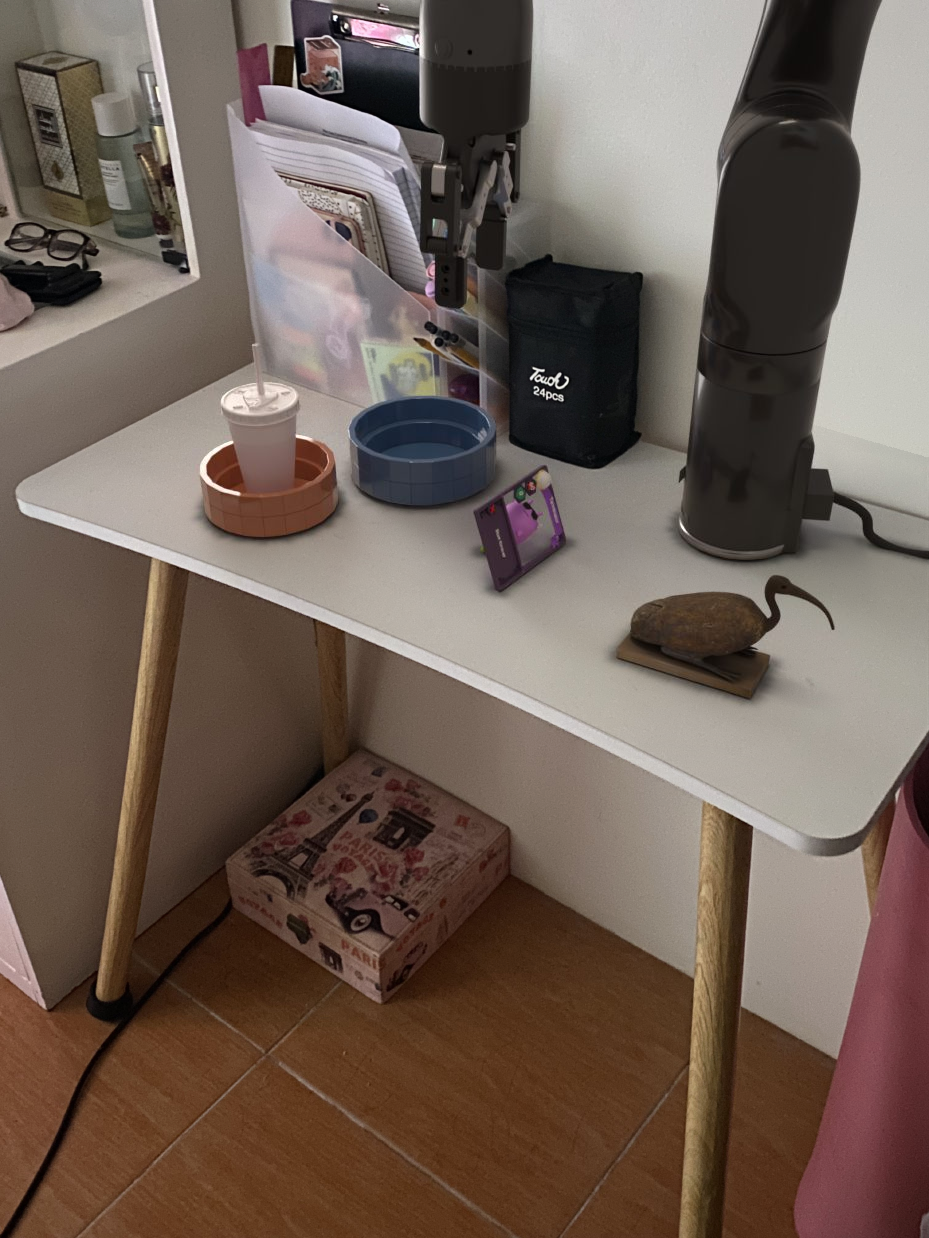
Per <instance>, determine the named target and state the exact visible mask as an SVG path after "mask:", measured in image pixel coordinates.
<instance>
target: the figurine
mask: <svg viewBox="0 0 929 1238" xmlns="http://www.w3.org/2000/svg"><path fill="white" fill-rule="evenodd" d="M763 593H764V600H765V602H766V604H767V606H768V609H769V611H770V616H769V617H768V616H767V615H766V613H764V612H763V610H762V609H761V608H760V606H759V605H757V603H756V602H755V601H754V600H753V599H752V598H750V597H748V596H745V595H742V594H740V593H735V592H727V591H701V592H691V593H682V594H675V595H669V596H666V597H664V598H658V599H653V600H651V601H648V602H645V603H643V604H641V605H640V606H639V607H638V608H636V609H635V610H634V612H633V614H632V616H631V619H630V630H629V632H628V634H627V635H626V637H625V638H624V639H623V640H622V641H621V642H620V644H618V646H617V647H616V655H615V656H616V657H615V658H619V659H621V660H624V661H628V662H631V663H634V664H637V665H641V666H644V667H647V668H651V669H654V670H657V671H660V672H664V673H667V674H669V675H672V676H676V677H680V678H683V679H685V680H690V681H692V682H695V683H699V684H703V685H706V686H709V687H712V688H716V689H719V690H722V691H725V692H728V693H732V694H735V695H737V696H741V697H743V698H747V699H751V697H752V695H753V694H754V691H755V690H756V688H757V686H758V684H759V682H760V681H761V679H762V677H763V675H764V674H765V671H766V669H767V668H768V666H769V664H770V659H771V655H770V654H769V653H765V652H761V651H759V648H757V647H755V646H753V645H755V644H757V643H758V642H759V641H761V640H762V639H763V638H764V637H765V636H766V634H767V633H769V632H772V630H773V629H775V627H776V626H777V625H778V624H779V623H780V620H781V617H782V616H781V615H782V614H781V610H780V607H779V605H778V602H777V601H776V594H777V595H783V596H790V597H791V596H792V597H795V598H798V599H801V600H804V601H806V602H808V603H810V604H812V605H814V606H815V607H817V608H818V609H819V610H820V611H822V613H823V614H824V615H825V617H826V618H827V620H828V623H829V626H830V629H831V631H835V630H836V627H835V623H834V620H833V617H832V614H831V613H830V611H829V609H827V607H826V606H825V605H824V603H822V601H820V600H819V599H818V598H817V597H815V596H814V595H813V594H811V593H809V592H807V591H806V589H803V588H801V587H799V586H798V585H796V584H794V583H793V582H792V581H791V580H790V579H789V578H788V577H786V576H783V575H779V574H774V575H772V576H770V577H769V578H768V579H767V580H766V583H765V585H764V592H763Z"/></svg>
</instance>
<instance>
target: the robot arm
mask: <svg viewBox="0 0 929 1238" xmlns="http://www.w3.org/2000/svg"><path fill="white" fill-rule="evenodd" d="M882 2H883V0H764V3H763V7H762V8H763V9H762V13H761V17H760V20H759V23H758V28H757V30H756V31H757V32H756V35H755V37H754V41H753V44H752V47H751V51H750V54H749V57H748V61H747V63H746V67H745V70H744V74H743V77H742V79H741V82H740V85H739V88H738V90H737V93H736V98H735V99H734V102H733V106H732V109H731V112H730V114H729V117H728V120H727V123H726V125H725V128H724V130H723V133H722V137H721V140H720V142H719V145H718V149H717V157H716V179H717V182H716V183H717V187H716V190H717V191H716V197H715V198H716V199H715V207H714V208H715V209H714V218H713V228H712V238H711V245H710V246H711V247H710V256H709V266H708V274H707V281H706V286H705V291H704V295H703V300H702V314H701V322H700V330H699V338H698V339H699V340H698V349H697V357H696V368H695V376H694V377H695V378H694V386H693V395H692V405H691V413H690V422H689V433H688V442H687V449H686V450H687V451H686V461H685V465H684V466H683V468H681V469H680V470H679V473H678V483H677V484H678V485H679V484H680V483H681V482H682V481H683V489H682V491H683V492H682V498H681V503H680V512H679V515H678V526H677V527H678V530H679V533H680V535H681V536H682V537H683V539H684V540H685V541H686V542H687V543H688V544H690V545H691V546H693V547H694V548H696V549H698V550H700V551H702V552H704V553H706V554H708V555H712V556H716V557H720V558H724V559H730V560H740V561H741V560H743V561H753V560H761V559H768V558H771V557H774V556H777V555H779V554H782V553H794V554H795V553H797V552H798V548H799V542H800V536H801V530H802V524H803V520H805V521H806V520H807V521H808V520H809V521H827V522H830V521H831V516H832V511H833V504H835V505H838V506H840V507H843V508H845V509H847V510H849V511H851V512H853V513H855V514H856V515H857V516H858V518H860V519H861V524H862V533H863V536H864V538H865V539H866V540H867V541H868V542H870V543H871V544H872V545H874V547H875V546H876V547H877V548H879V549H883V550H886V551H890V552H895V553H899V554H903V555H908V556H911V557H916V558H920V559H924V560H929V550H923V549H922V550H921V549H914V548H909V547H904V546H901V545H897V544H895V543H893V542H891V541H888V540H886V539H885V538H883V537H882V536H880V535H879V534H878V533H876V532H875V530H874V519H873V517H872V514H871V512H870V511H869V510H868V509H867V508H866V507H865V506H864V505H862V504H861V503H859V502H858V501H857V500H854V499H852V498H850V497H848V496H845V495H843V494H841V493H838V492H836V491H834V488H833V485H832V480H831V476H830V471H829V469H828V468H813V461H814V455H815V449H816V445H815V439H814V435H813V427H814V421H815V415H816V410H817V403H818V398H819V392H820V387H821V386H820V385H821V381H822V380H821V379H822V373H823V368H824V362H825V357H826V351H827V345H828V338H829V335H830V329H831V324H832V319H833V316H834V313H835V311H836V309H837V307H838V304H839V301H840V299H841V294H842V290H843V286H844V279H845V275H846V269H847V264H848V259H849V254H850V249H851V245H852V238H853V235H854V234H853V233H854V229H855V223H856V217H857V212H858V206H859V200H860V193H861V179H862V173H861V172H862V171H861V170H862V169H861V162H860V156H859V153H858V149H857V148H856V145H855V143H854V141H853V138H852V127H853V126H852V125H853V120H854V113H855V105H856V101H857V95H858V90H859V86H860V81H861V75H862V72H863V67H864V61H865V58H866V54H867V53H866V52H867V49H868V44H869V41H870V38H871V33H872V30H873V26H874V23H875V21H876V18H877V15H878V12H879V9H880V7H881V5H882ZM418 18H419V19H418V20H419V21H418V23H419V26H418V29H419V30H418V33H419V35H418V36H419V37H418V39H419V40H418V41H419V43H418V44H419V47H418V48H419V49H418V50H419V53H418V55H419V56H418V57H419V119H420V121H421V123H423V125H424V126H425V127H426V128H428V129H431V130H433V131H434V130H435V131H436V132H437V133H439V135H440V136H441V137H442V144H441V152H440V155H439V157H438V160H437V162H434V161H429V160H428V161H427V160H424V161H423V162H422V165H421V169H420V208H419V213H420V215H419V216H420V217H419V223H420V224H419V251H420V252H421V253H422V254H429V255H434V302H435V304H436V305H437V306H439V307H443V308H449V309H454V310H461V309H462V308H463V307H464V306H465V305H466V304H467V302H468V263H469V262H468V257H469V256H468V253H469V249H470V244H471V239H472V235H473V231H474V230H475V265H476V266H477V267H478V268H479V269H484V270H491V271H496V272H497V271H501V270H502V269H503V268H504V267H505V265H506V263H507V261H506V260H507V259H506V258H507V256H506V255H507V235H508V234H507V233H508V232H507V231H508V220H506V219H510V217H511V215H512V213H513V205H512V204H517V203H518V202H519V199H520V197H521V191H520V190H521V151H522V150H521V149H522V148H521V147H522V145H521V144H522V129H523V128H524V127H525V126H526V125H527V124H528V122H529V120H530V113H531V112H530V111H531V109H530V108H531V85H532V84H531V83H532V61H533V40H534V39H533V37H534V0H420V2H419V16H418ZM445 234H446V236H445Z"/></svg>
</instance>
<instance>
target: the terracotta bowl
mask: <svg viewBox="0 0 929 1238" xmlns="http://www.w3.org/2000/svg"><path fill="white" fill-rule="evenodd" d="M336 465H337V464H336V459H335V454H334V452H333V451H332V450H331V449H330V447H328V446H327V444H326V443H324V442H321V441H319V440H317V439H315V438H313V437H310V436H306V435H301V434H297V433H296V447H295V477H294V489H290V490H286V491H282V492H275V493H265V494H254V493H247V491H246V487H245V484H244V480H243V476H242V473H241V469H240V465H239V462H238V458H237V454H236V451H235V447H234V443H233V440H232V439H231V440H230V441H227V442H225V443H223V444H220V445H218V446H216V447H215V448H214V449H212V450H211V451H210V452H208V453H207V454H206V455H204V458H203V459H202V461H201V462H200V464H199V467H198V468H199V481H200V487H201V494H202V499H203V505H204V507H203V508H204V512H205V515H206V516H207V518H208V519H209V521H210V522H211V524H213V525H215V526H216V527H218V528H220V529H221V530H224V531H226V532H229V533H232V534H236V535H240V536H244V537H255V538H270V537H280V536H286V535H292V534H295V533H298V532H302V531H305V530H308V529H310V528H312V527H314V526H316V525H318V524H320V523H322V522H323V521H325V520H327V518H328V517H329V516H330V515H331V514H332V513H334V512H335V509H336V507H337V504H338V502H339V490H338V479H337V466H336Z"/></svg>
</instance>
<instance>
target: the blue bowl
mask: <svg viewBox="0 0 929 1238" xmlns="http://www.w3.org/2000/svg"><path fill="white" fill-rule="evenodd" d="M347 437H348V451H349V464H350V465H349V466H350V473H351V479H352V481H353V482H354V483H355V485H356V486H357V487H358V489H360V490H361V491H362V492H364V493H366V494H367V495H369V496H371V497H373V498H374V499H375V498H376V499H377V500H378V499H379V500H382V501H385V502H388V503H394V504H400V505H407V506H433V505H434V506H435V505H441V504H447V503H452V502H457V501H460V500H462V499H465V498H468V497H471V496H473V495H475V494H477V493H478V492H480V491H481V490H483V489H485V488H486V487H487V486H488V485H489V484H490V483H491V481H492V480H493V479H494V478H495V475H496V470H497V425H496V422H495V419H494V417H493V415H491V413H489V412H488V411H487V410H485V408H483V407H480V406H479V405H476V404H474V403H472V402H470V401H466V400H463V399H460V398H456V397H450V396H442V395H441V396H440V395H410V396H409V395H408V396H403V397H396V398H391V399H387V400H383V401H380V402H377V403H374V404H372V405H370V406H368V407H367V408H364V409H362V410H361V411H359V412H358V413H357V414H356V415H355V416H354V417H353V418H352V419H351V421H350V423H349V425H348V427H347Z"/></svg>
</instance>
